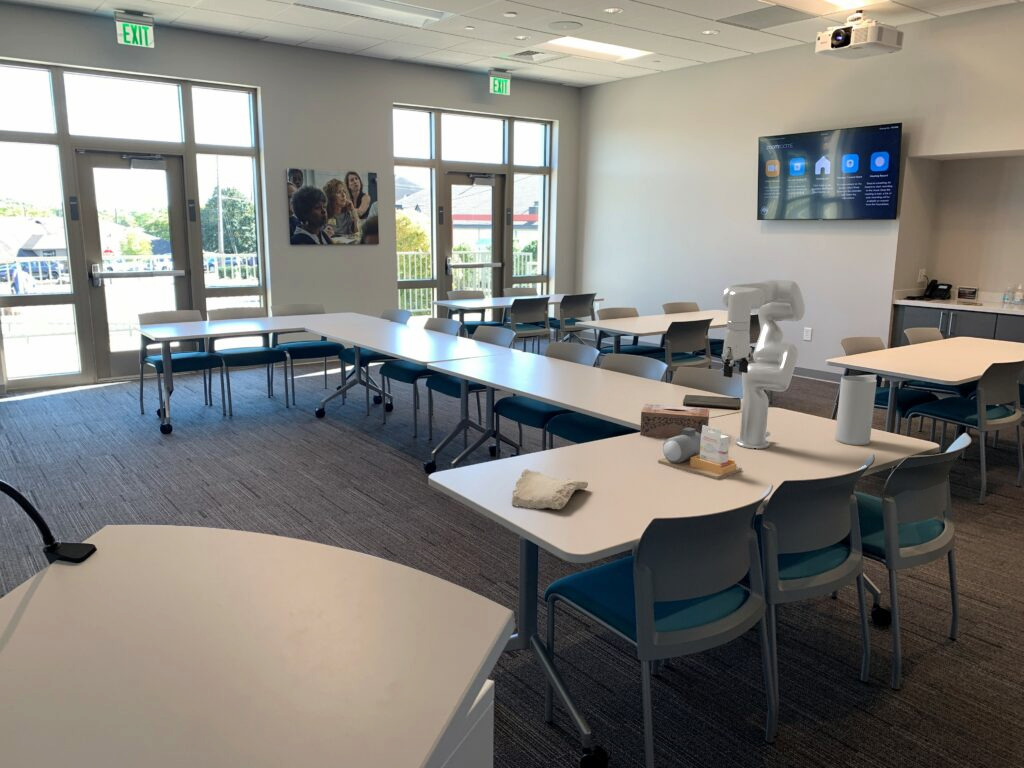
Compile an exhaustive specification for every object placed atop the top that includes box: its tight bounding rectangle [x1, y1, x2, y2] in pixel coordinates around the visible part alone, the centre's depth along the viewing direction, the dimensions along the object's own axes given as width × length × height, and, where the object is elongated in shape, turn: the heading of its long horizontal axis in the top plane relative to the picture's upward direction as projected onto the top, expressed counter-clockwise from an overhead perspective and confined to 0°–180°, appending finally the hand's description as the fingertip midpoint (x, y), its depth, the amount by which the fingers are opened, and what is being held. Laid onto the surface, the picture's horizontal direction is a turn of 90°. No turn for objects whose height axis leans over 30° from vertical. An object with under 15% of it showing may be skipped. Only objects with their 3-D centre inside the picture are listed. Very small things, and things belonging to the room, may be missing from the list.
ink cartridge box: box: [700, 425, 730, 468], centre depth 257 cm, size 9×5×15 cm, turn 37°
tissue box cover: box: [639, 403, 710, 438], centre depth 304 cm, size 26×14×10 cm, turn 74°
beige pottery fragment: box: [511, 468, 589, 510], centre depth 231 cm, size 24×8×20 cm
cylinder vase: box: [834, 375, 877, 446], centre depth 294 cm, size 12×12×25 cm
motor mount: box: [657, 427, 743, 480], centre depth 261 cm, size 15×24×12 cm, turn 42°
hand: (735, 374), depth 264 cm, fingers open, 9 cm apart
